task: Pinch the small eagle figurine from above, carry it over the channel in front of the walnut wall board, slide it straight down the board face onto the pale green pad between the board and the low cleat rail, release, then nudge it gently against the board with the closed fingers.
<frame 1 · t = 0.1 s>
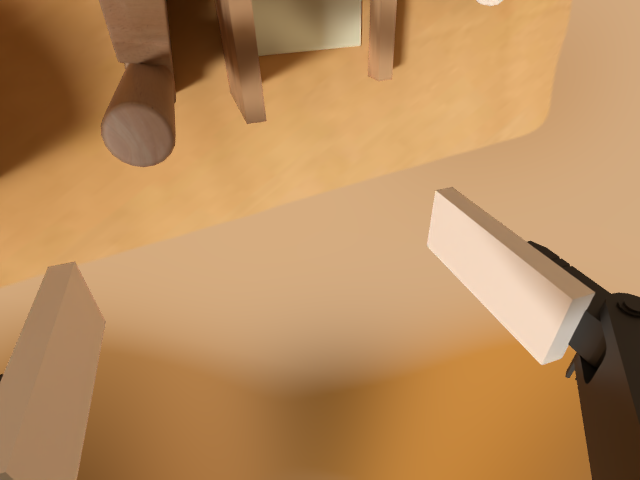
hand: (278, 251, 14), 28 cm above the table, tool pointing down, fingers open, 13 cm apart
wooden block: (146, 27, 32), on the table
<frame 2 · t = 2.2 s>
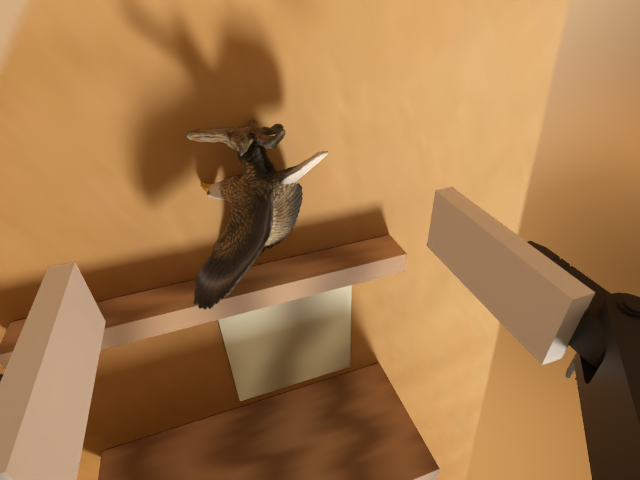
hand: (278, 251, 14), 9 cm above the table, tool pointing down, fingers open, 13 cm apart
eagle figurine: (240, 187, 22), on the table
wall board: (242, 358, 30), on the table
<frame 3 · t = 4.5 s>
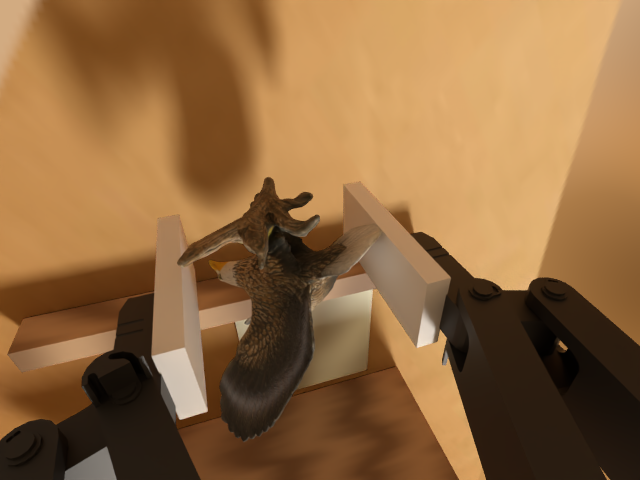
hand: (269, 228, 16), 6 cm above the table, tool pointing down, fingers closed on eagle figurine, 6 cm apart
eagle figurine: (258, 254, 17), point 5 cm above the table, touching gripper
wall board: (257, 359, 29), on the table
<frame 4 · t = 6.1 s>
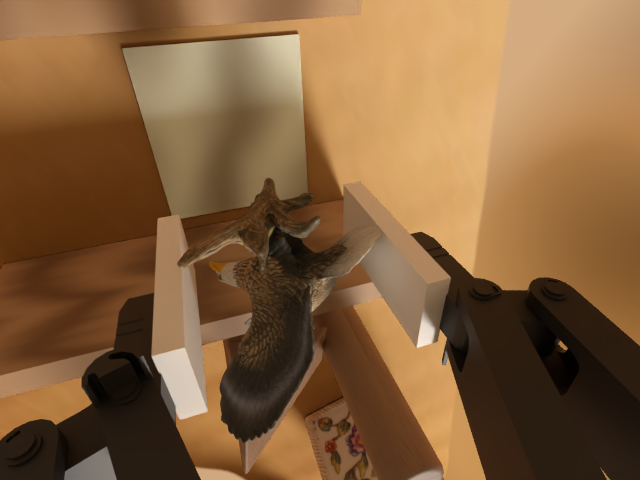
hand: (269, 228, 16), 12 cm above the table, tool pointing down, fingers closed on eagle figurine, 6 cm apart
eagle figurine: (259, 255, 17), point 11 cm above the table, touching gripper
wall board: (169, 150, 25), on the table
decorative jar: (356, 413, 50), on the table
wooden block: (279, 284, 34), on the table
when the fingers open (1 cm above the table, at t = 8.0 s): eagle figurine moves 2 cm, resting on wall board.
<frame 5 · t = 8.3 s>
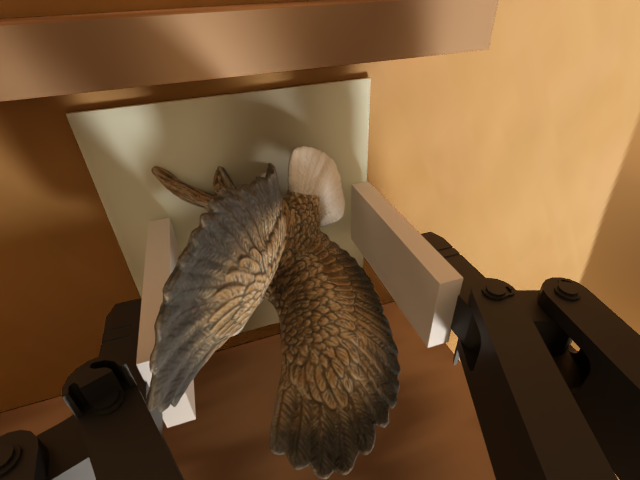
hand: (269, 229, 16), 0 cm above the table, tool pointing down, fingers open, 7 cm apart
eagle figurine: (279, 337, 13), point 5 cm above the table, touching wall board
wall board: (156, 262, 15), on the table
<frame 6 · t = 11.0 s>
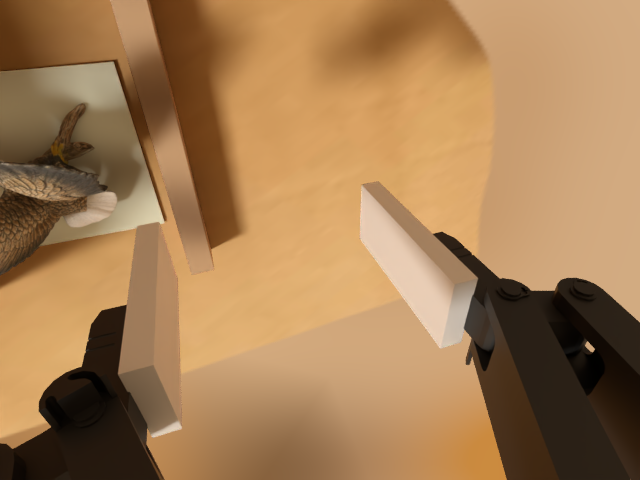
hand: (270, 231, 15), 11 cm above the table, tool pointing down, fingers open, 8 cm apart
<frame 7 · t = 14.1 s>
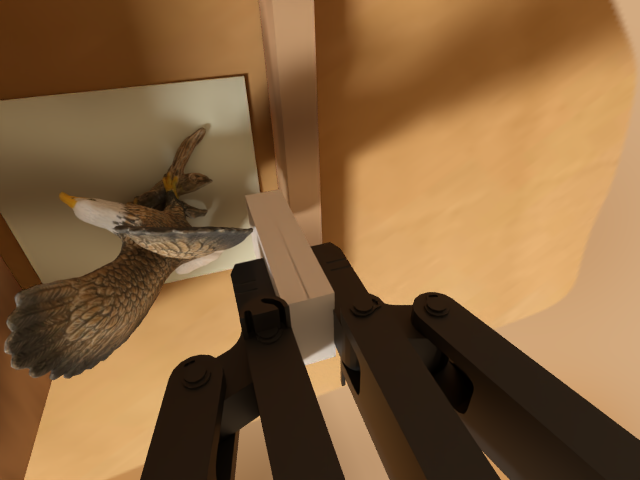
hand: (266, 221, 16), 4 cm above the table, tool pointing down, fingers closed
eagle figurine: (71, 251, 14), point 4 cm above the table, touching gripper, wall board
wall board: (100, 116, 16), on the table
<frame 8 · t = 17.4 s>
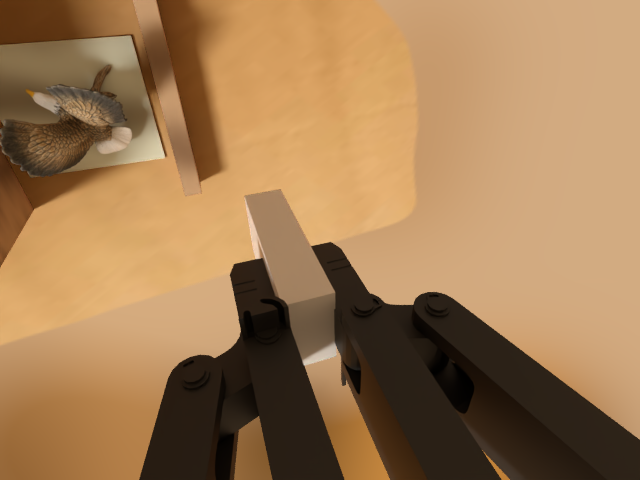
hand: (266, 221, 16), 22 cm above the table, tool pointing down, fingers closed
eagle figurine: (33, 122, 27), point 4 cm above the table, touching wall board
wall board: (49, 56, 29), on the table
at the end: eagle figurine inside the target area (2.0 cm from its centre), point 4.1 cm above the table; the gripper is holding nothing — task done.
